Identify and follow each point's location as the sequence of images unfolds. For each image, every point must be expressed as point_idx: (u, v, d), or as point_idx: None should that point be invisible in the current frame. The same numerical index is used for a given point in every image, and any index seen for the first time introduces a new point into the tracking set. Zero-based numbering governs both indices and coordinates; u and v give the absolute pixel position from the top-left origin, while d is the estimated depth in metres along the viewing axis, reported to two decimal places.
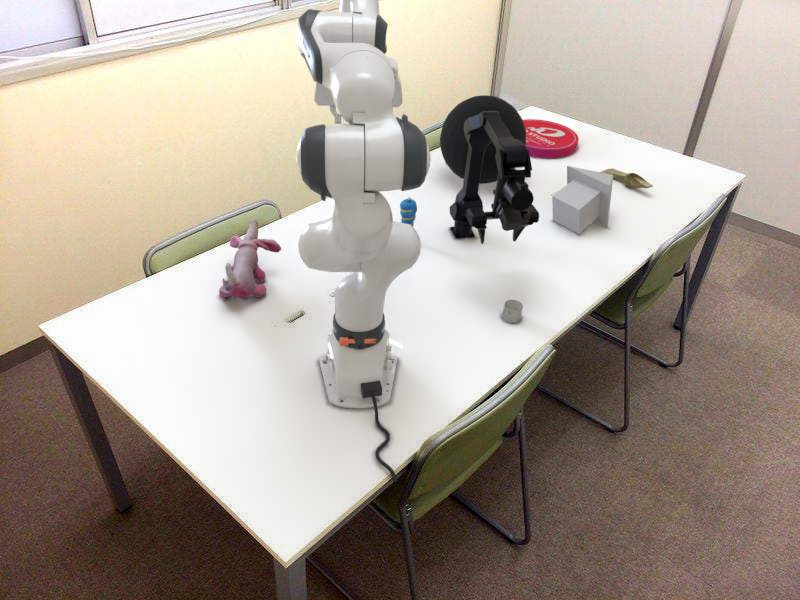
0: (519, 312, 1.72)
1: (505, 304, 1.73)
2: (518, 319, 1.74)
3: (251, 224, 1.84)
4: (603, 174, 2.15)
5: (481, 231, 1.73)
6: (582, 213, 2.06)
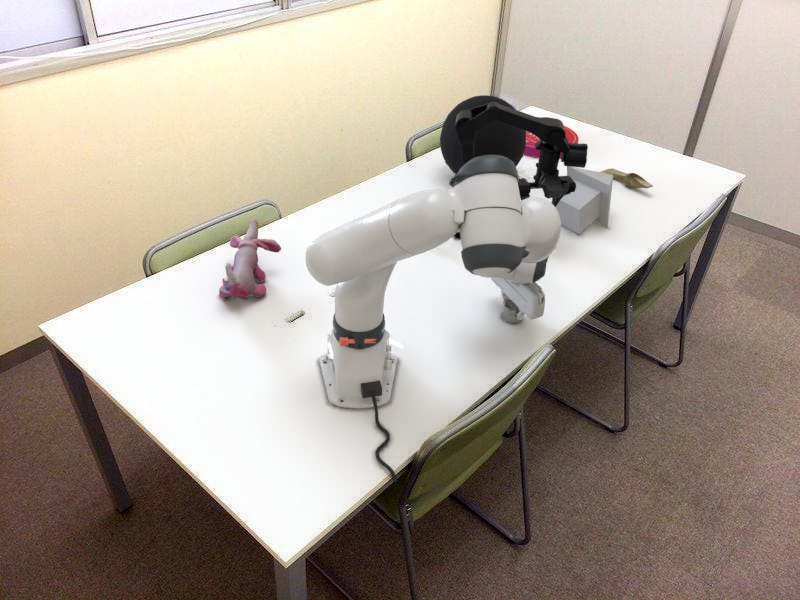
0: None
1: (505, 304, 1.73)
2: None
3: (251, 224, 1.84)
4: (603, 174, 2.15)
5: None
6: (582, 213, 2.06)
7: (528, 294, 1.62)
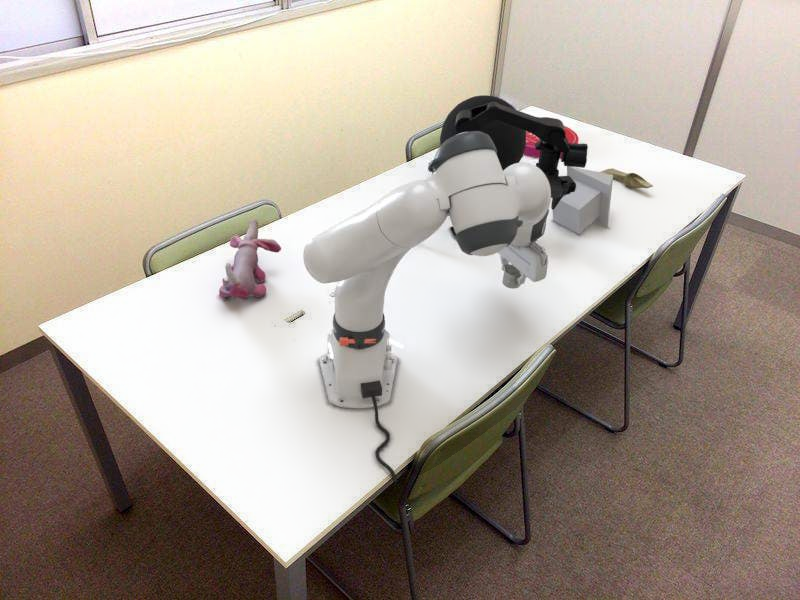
0: None
1: (505, 269, 1.71)
2: None
3: (251, 224, 1.84)
4: (603, 174, 2.15)
5: None
6: (582, 213, 2.06)
7: (531, 256, 1.60)
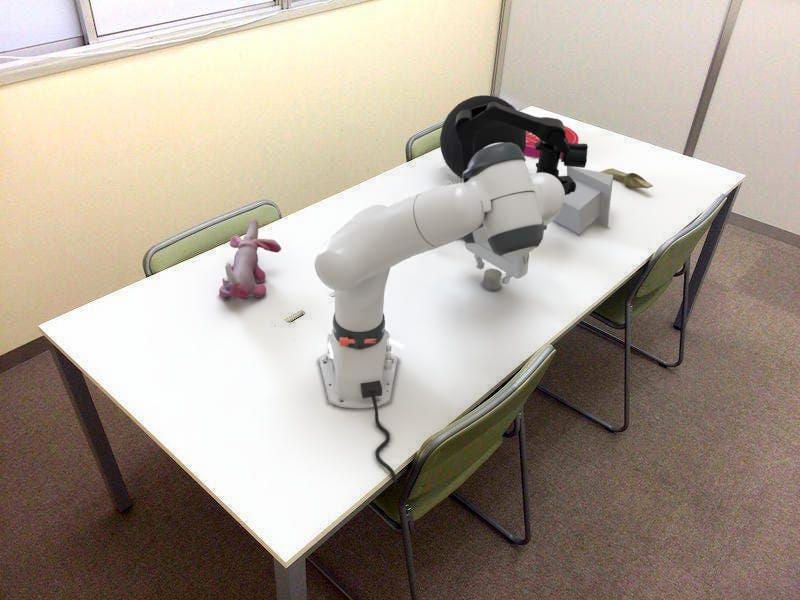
0: (500, 279, 1.84)
1: (485, 274, 1.84)
2: (499, 286, 1.86)
3: (251, 224, 1.84)
4: (603, 174, 2.15)
5: None
6: (582, 213, 2.06)
7: None
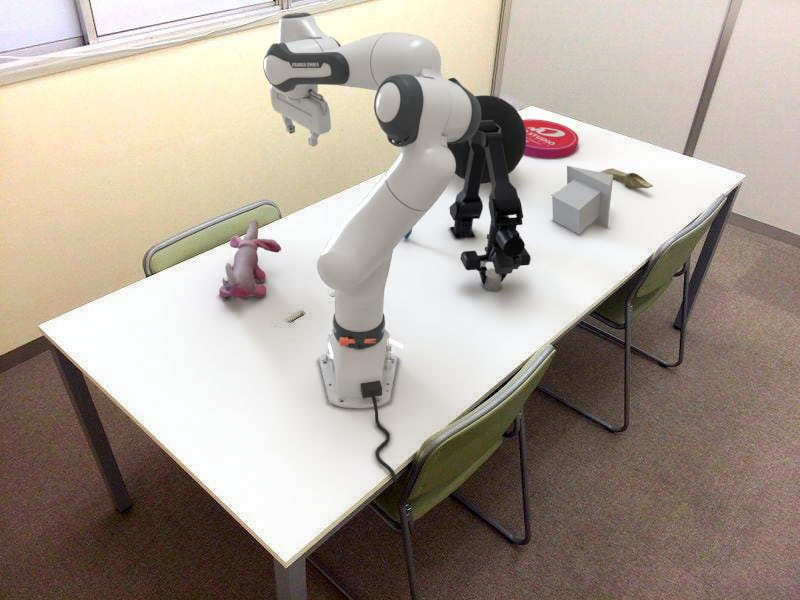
0: (500, 279, 1.84)
1: None
2: (499, 286, 1.86)
3: (251, 224, 1.84)
4: (603, 174, 2.15)
5: (482, 273, 1.82)
6: (582, 213, 2.06)
7: (311, 106, 1.53)
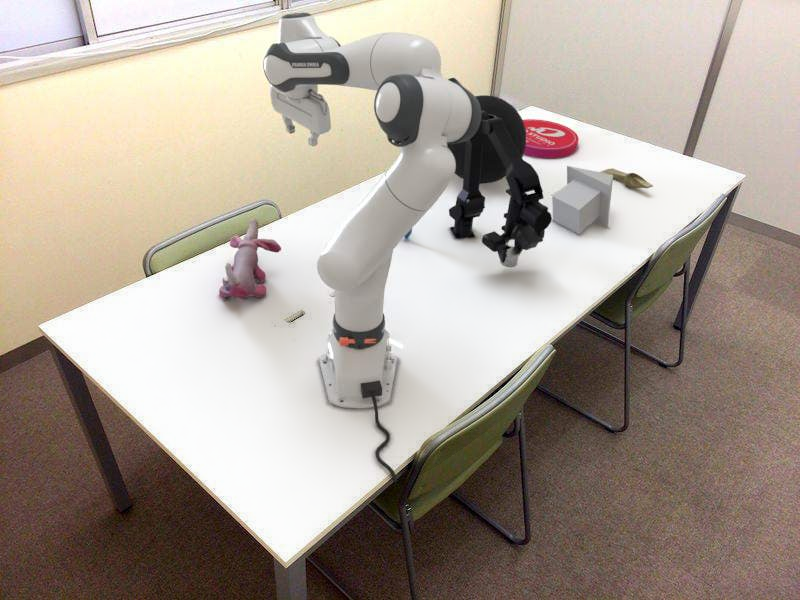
0: (518, 254, 1.88)
1: None
2: (517, 261, 1.90)
3: (251, 224, 1.84)
4: (603, 174, 2.15)
5: (504, 251, 1.85)
6: (582, 213, 2.06)
7: (311, 106, 1.53)
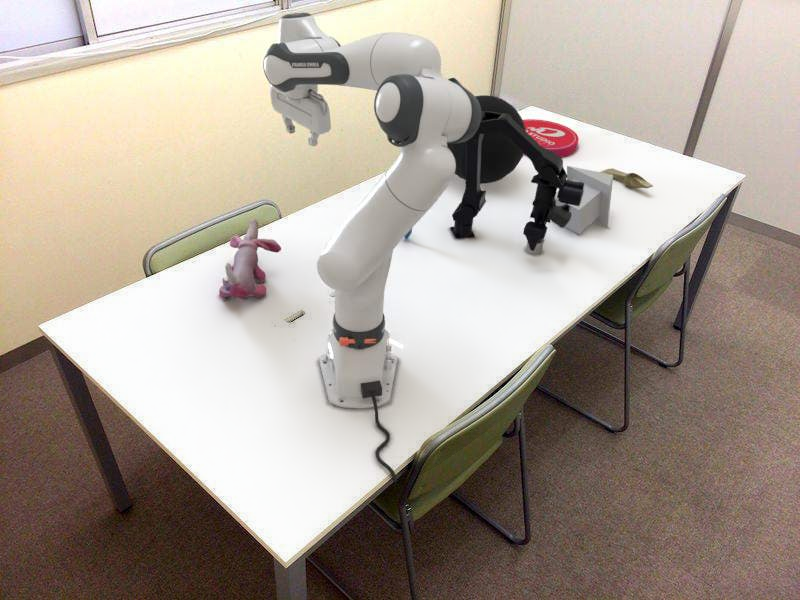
0: None
1: None
2: None
3: (251, 224, 1.84)
4: (603, 174, 2.15)
5: (538, 239, 1.93)
6: (582, 213, 2.06)
7: (311, 106, 1.53)
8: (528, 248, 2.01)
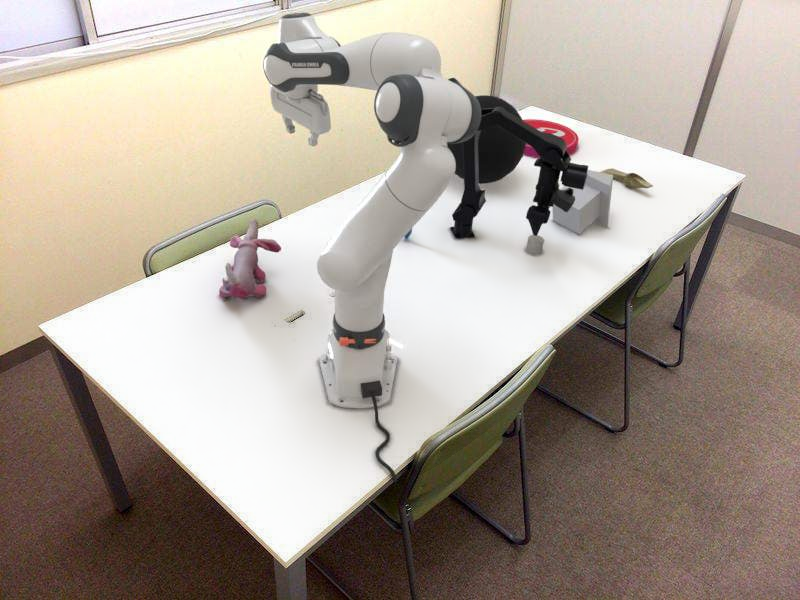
0: None
1: (534, 242, 1.98)
2: None
3: (251, 224, 1.84)
4: (603, 174, 2.15)
5: (541, 224, 1.90)
6: (582, 213, 2.06)
7: (311, 106, 1.53)
8: (528, 248, 2.01)
